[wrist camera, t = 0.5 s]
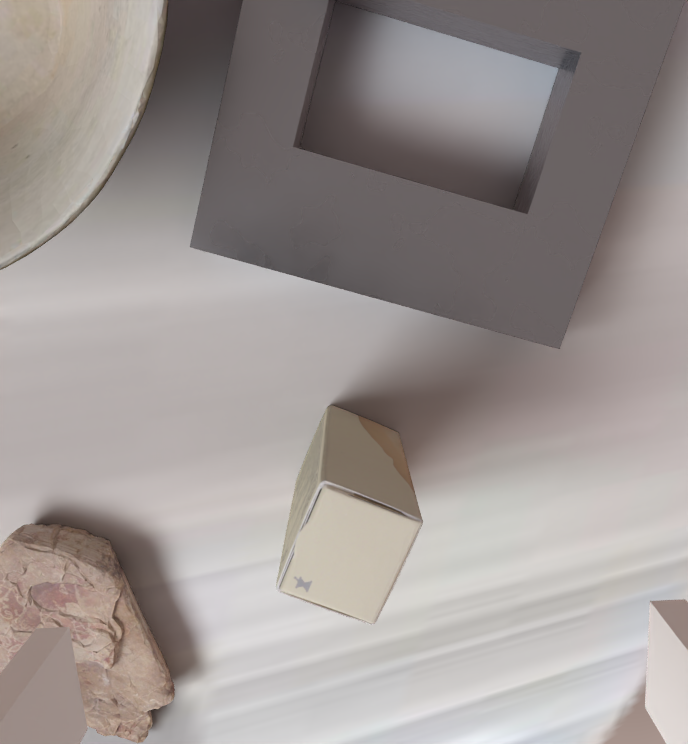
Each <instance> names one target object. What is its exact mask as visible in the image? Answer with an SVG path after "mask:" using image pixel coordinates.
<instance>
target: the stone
mask: <svg viewBox="0 0 688 744" xmlns="http://www.w3.org/2000/svg"><path fill="white" fill-rule="evenodd" d="M57 627H69V629H70V635H71V640H72V646H73V651H74V657H75V662H76V668H77V673H78V678H79V684H80V689H81V695H82V700H83V706H84V711H85V717H86V722H87V726H89V727H91V728H94V729H96V731H97V733H99V734H101V735H103V736H109V735H113V736H115V735H117V736H119V737H121V738H125V739H128V740H131V741H133V742H136V743H139V742H143V741H144V740H145V738H146V737H147V736H148V730H149V729H150V728H151V727H152V724H153V721H152V715H151V711H150V710H152V709H159V708H160V707H162V706H165V705H167V704H169V703H170V702H171V701H172V700H173V699H174V691H175V689H174V684H173V682H172V681H171V677H170V672H169V668H168V666H167V664H166V662H165V660H164V658H163V655H162V653H161V651H160V649H159V648H158V646H157V643H156V641H155V639H154V637H153V635H152V633H151V631H150V629H149V627H148V625H147V623H146V621H145V619H144V616H143V614H142V612H141V610H140V608H139V606H138V603H137V601H136V599H135V597H134V594H133V592H132V590H131V588H130V585H129V583H128V580H127V578H126V576H125V574H124V572H123V570H122V568H121V567H120V566H119V562H118V560H117V556H116V554H115V552H114V550H113V548H112V546H111V543H110V541H109V540H106V539H105V538H102V537H95V536H93V535H92V534H91V533H88V532H87V531H86V530H82V529H74V528H72V527H67V526H64V527H62V526H61V525H60V524H51V525H48V526H45V525H44V524H41V525H34V524H30V525H23V526H22V527H20V528H19V529H17V530H16V531H14V532H13V533H12V534H11V535H9V537H8V538H7V539H6V540H5V541H4V542H3V543H2V545H1V548H0V673H1V672H2V671H3V670H4V668H5V667H6V666H7V665H8V663H9V662H10V661H11V660H12V658H13V657H14V656H15V655H16V653H17V652H18V651H19V650H20V648H21V647H22V646H23V645H24V643H25V642H26V641H27V640H28V638H29V637H30V636H31V635H32V633H33V632H34V631H35V630H36V628H57Z"/></svg>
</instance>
